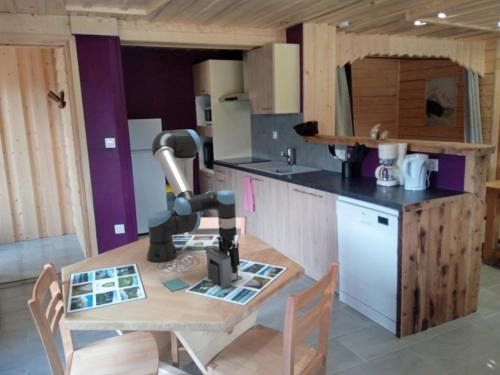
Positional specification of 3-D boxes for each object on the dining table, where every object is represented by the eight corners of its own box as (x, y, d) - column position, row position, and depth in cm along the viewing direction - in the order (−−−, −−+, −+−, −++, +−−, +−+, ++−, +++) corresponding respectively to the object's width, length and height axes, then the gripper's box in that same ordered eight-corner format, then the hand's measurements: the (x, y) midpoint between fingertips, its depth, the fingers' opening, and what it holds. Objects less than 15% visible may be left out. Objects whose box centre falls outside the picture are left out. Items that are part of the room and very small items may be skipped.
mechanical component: (225, 268, 194) (224, 248, 193) (204, 267, 197) (203, 247, 195) (227, 266, 197) (226, 246, 195) (206, 265, 199) (205, 245, 198)
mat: (161, 283, 180) (161, 282, 180) (178, 278, 185) (178, 277, 185) (172, 291, 171) (172, 290, 171) (189, 286, 176) (189, 285, 176)
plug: (211, 281, 180) (210, 264, 179) (233, 274, 187) (232, 258, 185) (218, 285, 176) (217, 268, 174) (240, 278, 182) (240, 261, 180)
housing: (208, 278, 184) (206, 249, 181) (215, 275, 186) (214, 247, 184) (223, 288, 173) (222, 258, 170) (231, 285, 175) (230, 256, 173)
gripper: (209, 223, 183) (211, 272, 188) (231, 233, 168) (234, 286, 172) (223, 220, 188) (225, 268, 192) (246, 229, 172) (248, 281, 176)
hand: (229, 276), depth 182 cm, fingers closed on plug, 6 cm apart
